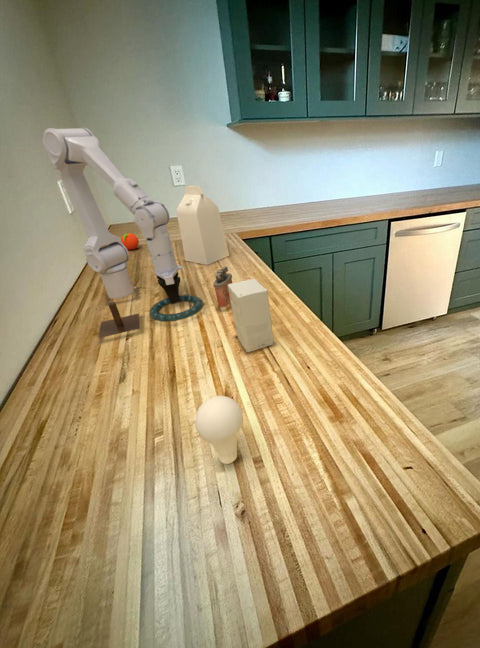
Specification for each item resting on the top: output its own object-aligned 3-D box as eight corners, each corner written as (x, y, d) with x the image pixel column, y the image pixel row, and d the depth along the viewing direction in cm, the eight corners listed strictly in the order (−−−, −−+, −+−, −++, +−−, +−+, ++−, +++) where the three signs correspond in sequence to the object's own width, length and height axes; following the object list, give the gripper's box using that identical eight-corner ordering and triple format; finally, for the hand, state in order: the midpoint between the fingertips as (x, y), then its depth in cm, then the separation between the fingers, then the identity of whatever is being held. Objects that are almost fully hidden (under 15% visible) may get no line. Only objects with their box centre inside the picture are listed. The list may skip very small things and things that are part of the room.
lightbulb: (210, 445, 50) (195, 388, 45) (251, 440, 51) (240, 384, 45) (204, 481, 45) (185, 422, 40) (249, 476, 45) (237, 417, 40)
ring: (149, 308, 93) (147, 300, 92) (199, 297, 98) (197, 289, 97) (152, 330, 82) (149, 322, 81) (208, 316, 87) (206, 308, 86)
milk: (229, 255, 131) (216, 183, 118) (207, 264, 123) (191, 189, 110) (207, 251, 137) (193, 183, 124) (185, 260, 129) (168, 188, 116)
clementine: (135, 252, 143) (130, 235, 140) (119, 253, 143) (114, 236, 140) (143, 246, 150) (138, 230, 146) (128, 247, 150) (123, 231, 147)
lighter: (227, 311, 89) (220, 275, 84) (215, 310, 90) (208, 275, 85) (238, 298, 96) (232, 264, 91) (227, 297, 96) (221, 264, 92)
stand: (102, 325, 86) (92, 300, 82) (140, 317, 89) (131, 292, 85) (100, 342, 79) (88, 315, 75) (141, 332, 82) (132, 306, 78)
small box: (274, 344, 73) (268, 290, 67) (246, 353, 71) (237, 297, 65) (261, 328, 80) (254, 277, 73) (236, 336, 78) (226, 283, 71)
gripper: (180, 257, 83) (193, 306, 89) (174, 243, 94) (185, 288, 101) (150, 262, 80) (165, 313, 87) (147, 247, 92) (161, 293, 99)
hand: (174, 300), depth 94 cm, fingers closed on ring, 2 cm apart
